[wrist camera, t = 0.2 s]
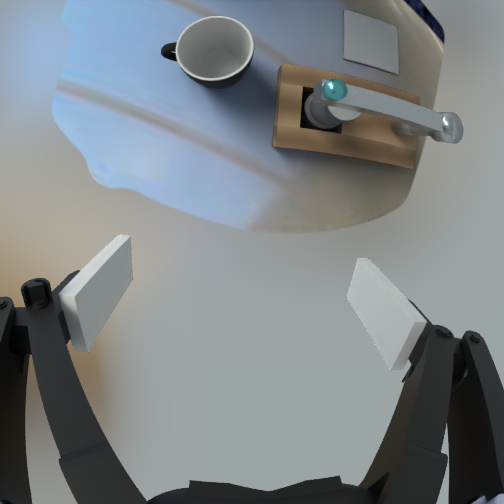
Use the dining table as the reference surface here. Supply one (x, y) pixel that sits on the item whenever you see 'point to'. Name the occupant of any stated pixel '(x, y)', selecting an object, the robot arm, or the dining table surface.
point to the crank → (388, 109)
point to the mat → (370, 42)
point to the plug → (325, 114)
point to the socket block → (344, 134)
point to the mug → (213, 51)
